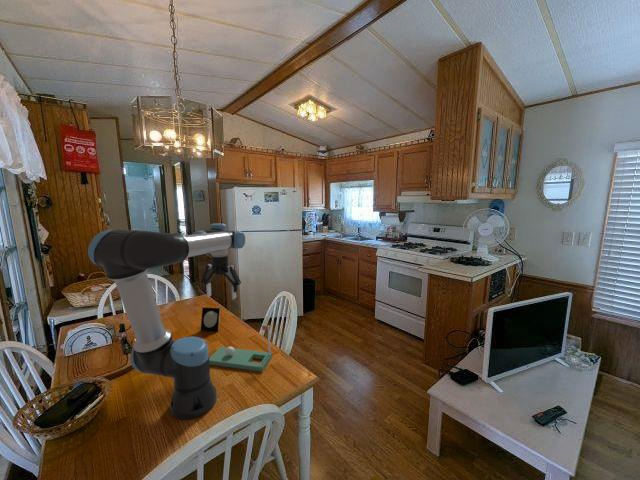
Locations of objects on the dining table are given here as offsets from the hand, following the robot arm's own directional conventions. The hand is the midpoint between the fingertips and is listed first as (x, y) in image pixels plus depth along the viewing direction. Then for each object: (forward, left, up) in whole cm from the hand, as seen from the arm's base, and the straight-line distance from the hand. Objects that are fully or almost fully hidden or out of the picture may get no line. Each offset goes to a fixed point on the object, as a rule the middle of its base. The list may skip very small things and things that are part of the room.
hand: (221, 297), depth 135 cm
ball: (-13, -11, -20) cm, 26 cm away
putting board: (-13, -16, -24) cm, 31 cm away
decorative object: (+12, +14, -24) cm, 31 cm away
